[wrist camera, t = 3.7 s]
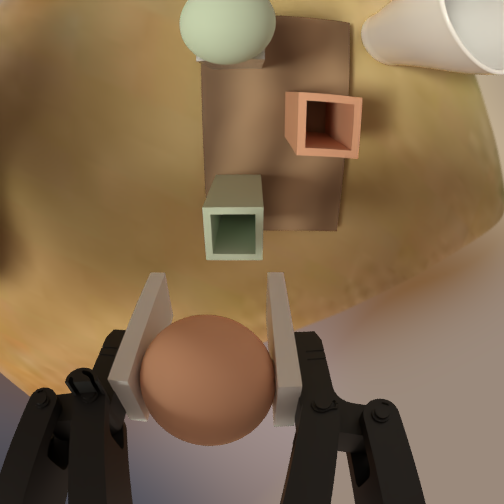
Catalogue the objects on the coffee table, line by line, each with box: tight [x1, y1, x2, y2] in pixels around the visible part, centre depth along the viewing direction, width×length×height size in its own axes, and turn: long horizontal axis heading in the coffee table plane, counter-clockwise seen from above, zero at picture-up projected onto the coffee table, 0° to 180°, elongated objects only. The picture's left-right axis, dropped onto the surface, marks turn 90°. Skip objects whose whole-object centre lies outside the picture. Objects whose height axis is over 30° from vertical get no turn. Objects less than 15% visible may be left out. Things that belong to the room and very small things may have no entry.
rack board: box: [201, 16, 350, 231], centre depth 26 cm, size 12×20×1 cm, turn 0°
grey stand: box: [196, 49, 265, 70], centre depth 18 cm, size 4×4×8 cm
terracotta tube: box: [285, 92, 362, 159], centre depth 21 cm, size 4×4×8 cm
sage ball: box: [179, 0, 276, 65], centre depth 13 cm, size 5×5×5 cm
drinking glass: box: [361, 0, 504, 75], centre depth 15 cm, size 7×7×15 cm
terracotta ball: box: [140, 315, 275, 446], centre depth 11 cm, size 5×5×5 cm
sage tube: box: [202, 175, 264, 260], centre depth 25 cm, size 4×4×8 cm
